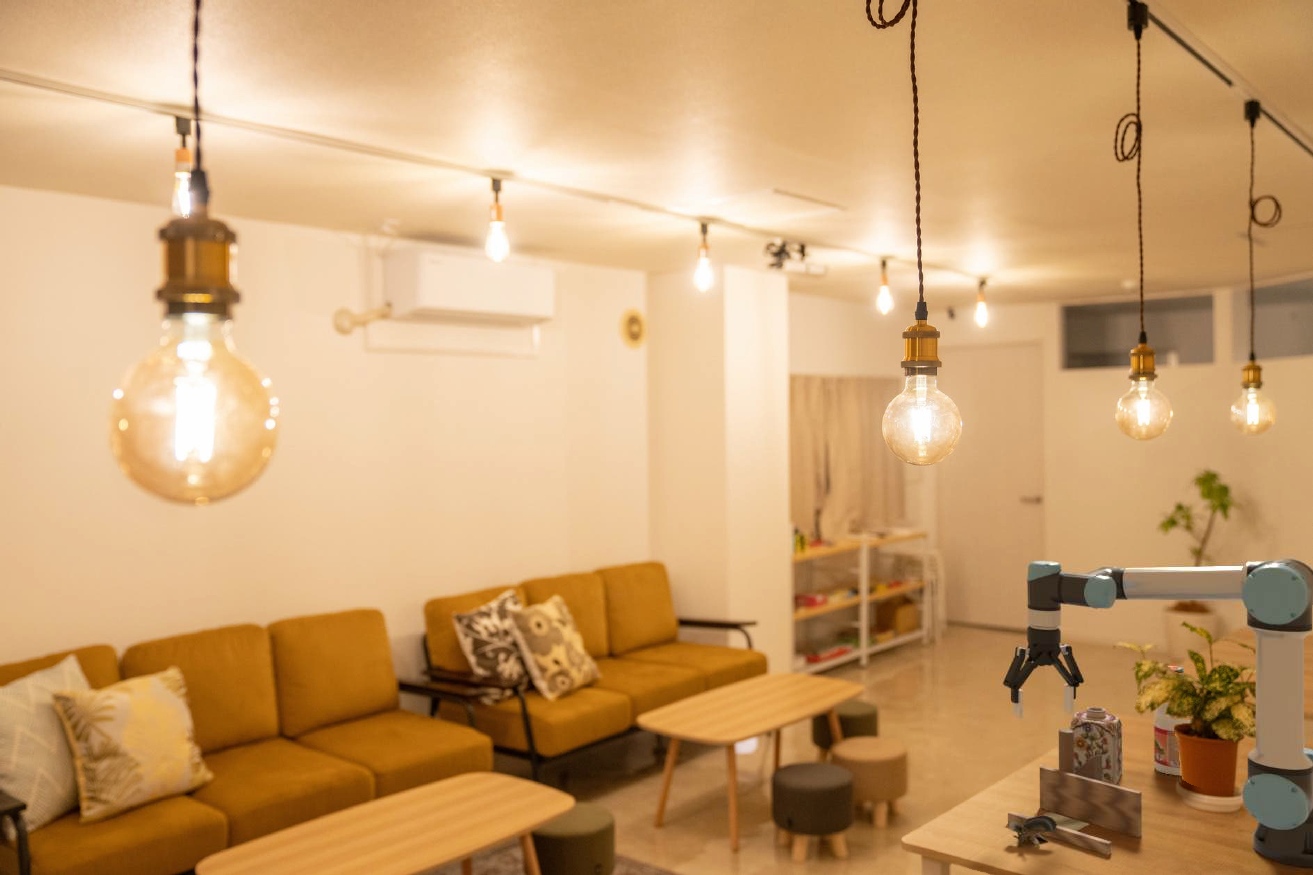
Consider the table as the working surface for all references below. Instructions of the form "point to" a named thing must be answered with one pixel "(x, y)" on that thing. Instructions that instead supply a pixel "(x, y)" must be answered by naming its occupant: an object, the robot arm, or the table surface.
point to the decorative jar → (1098, 741)
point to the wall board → (1086, 808)
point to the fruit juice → (1166, 739)
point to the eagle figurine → (1033, 829)
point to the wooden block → (1066, 758)
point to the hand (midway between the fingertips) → (1043, 714)
